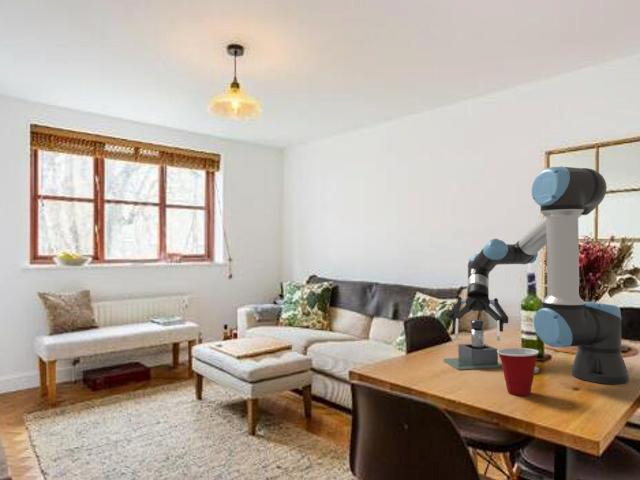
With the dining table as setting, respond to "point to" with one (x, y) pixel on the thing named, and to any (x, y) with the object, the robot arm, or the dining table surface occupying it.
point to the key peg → (477, 334)
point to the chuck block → (474, 358)
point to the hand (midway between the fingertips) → (477, 337)
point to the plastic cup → (518, 369)
